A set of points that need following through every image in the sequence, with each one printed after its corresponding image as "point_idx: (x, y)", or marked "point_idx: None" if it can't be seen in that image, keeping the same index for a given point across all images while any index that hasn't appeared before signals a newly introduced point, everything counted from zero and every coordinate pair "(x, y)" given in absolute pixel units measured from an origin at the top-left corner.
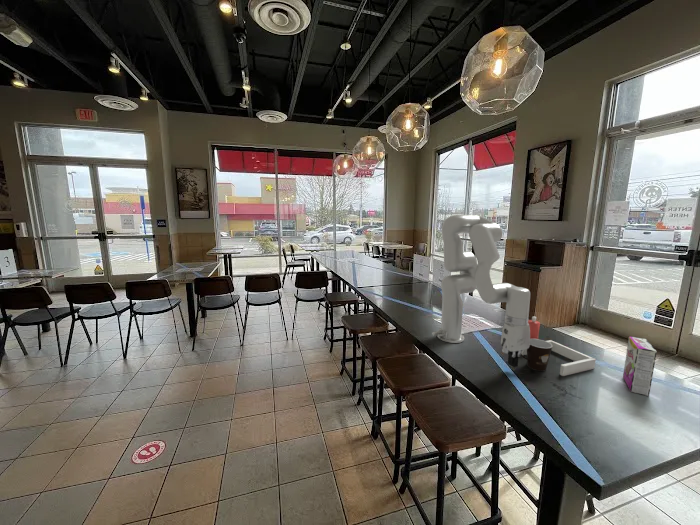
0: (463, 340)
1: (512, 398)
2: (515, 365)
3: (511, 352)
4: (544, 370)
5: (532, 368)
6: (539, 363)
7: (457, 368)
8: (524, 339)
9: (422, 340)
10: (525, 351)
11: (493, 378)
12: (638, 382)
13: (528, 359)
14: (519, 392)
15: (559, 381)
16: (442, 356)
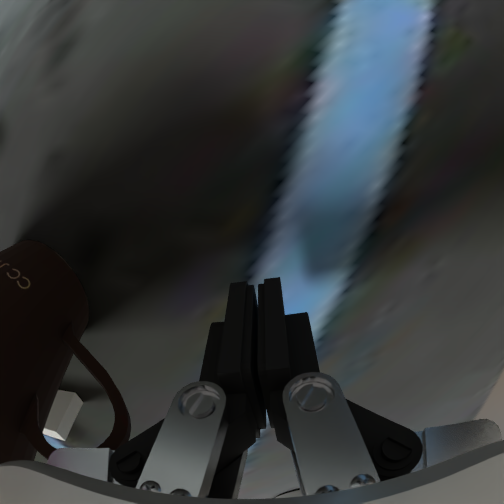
0: (292, 493)
1: (496, 3)
2: (270, 287)
3: (363, 453)
4: (19, 242)
5: (74, 277)
6: (12, 273)
7: None
8: None
9: None
10: (57, 405)
11: (477, 214)
12: None
13: (67, 342)
14: (432, 8)
15: (9, 102)
16: (474, 412)
